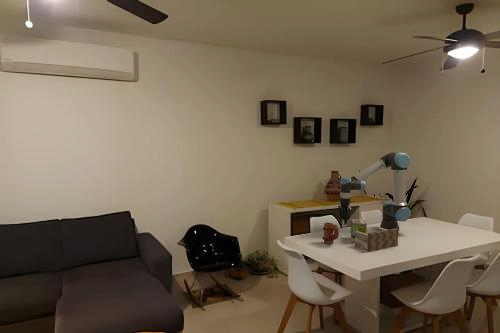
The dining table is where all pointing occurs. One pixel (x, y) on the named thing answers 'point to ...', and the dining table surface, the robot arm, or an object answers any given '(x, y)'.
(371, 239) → the patterned planter box
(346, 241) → the dining table surface
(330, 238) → the reddish-brown rounded piece
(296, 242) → the dining table surface
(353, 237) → the tea box
